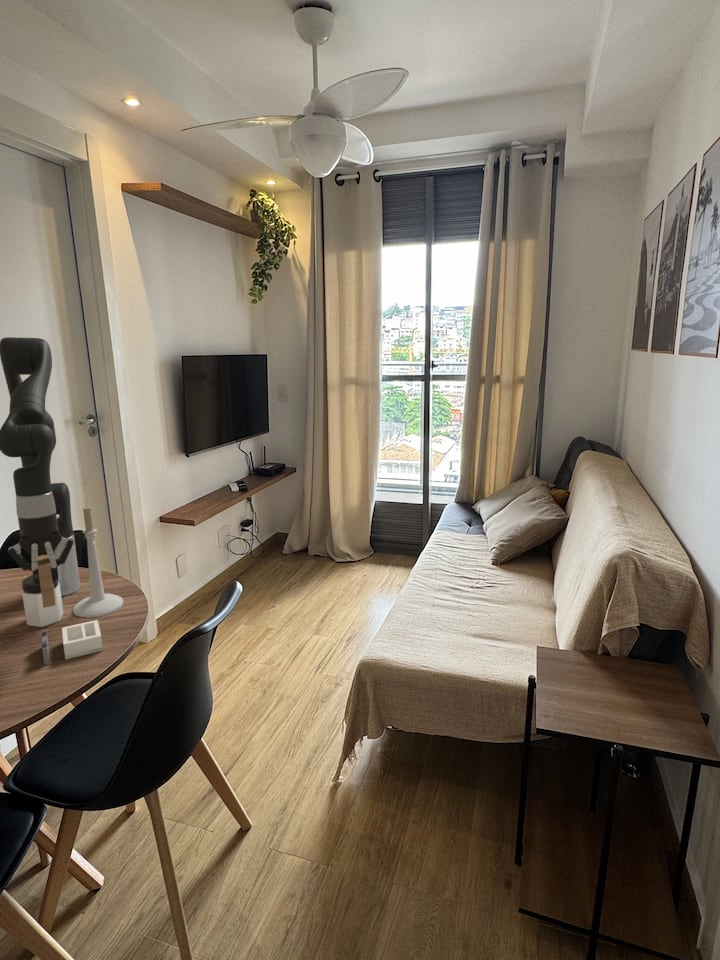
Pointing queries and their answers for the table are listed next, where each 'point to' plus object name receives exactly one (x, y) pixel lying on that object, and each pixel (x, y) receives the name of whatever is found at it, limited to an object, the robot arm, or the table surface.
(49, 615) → the jar
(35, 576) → the door
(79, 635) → the cabinet
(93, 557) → the candlestick
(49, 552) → the robot arm
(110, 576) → the table surface
